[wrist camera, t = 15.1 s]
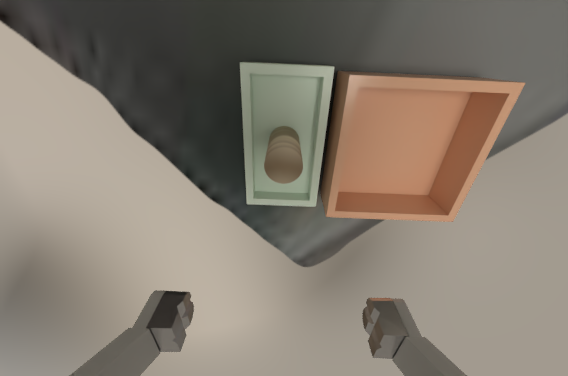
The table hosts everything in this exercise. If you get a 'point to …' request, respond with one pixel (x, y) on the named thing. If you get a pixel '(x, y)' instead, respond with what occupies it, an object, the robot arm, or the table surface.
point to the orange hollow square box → (410, 143)
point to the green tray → (284, 112)
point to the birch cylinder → (283, 156)
